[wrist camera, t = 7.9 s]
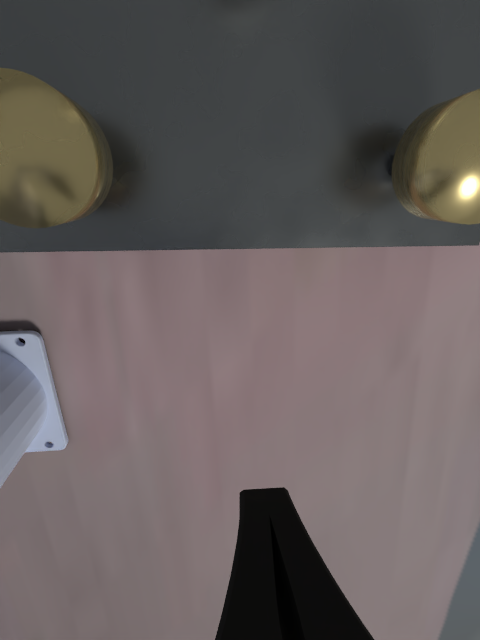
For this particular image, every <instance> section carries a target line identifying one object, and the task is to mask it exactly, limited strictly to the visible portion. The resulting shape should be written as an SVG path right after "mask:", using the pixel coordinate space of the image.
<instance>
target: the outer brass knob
mask: <svg viewBox="0 0 480 640" xmlns="http://www.w3.org/2000/svg"><path fill="white" fill-rule="evenodd" d="M391 175H392V183H393V188H394V192H395V194H396V196H397V199H398V200H399V202H400V203H401V205H402V206H403V207H404V208H405V209H406V210H407V211H408V212H410V213H411V214H413V215H415V216H418V217H420V218H425V219H431V220H438V221H445V222H451V223H458V224H468V225H470V224H479V223H480V89H477V90H475V91H472V92H469V93H466V94H463V95H461V96H458V97H455V98H452V99H449V100H447V101H444V102H441V103H438V104H436V105H434V106H432V107H430V108H428V109H427V110H425V111H424V112H422V113H421V114H420V115H419V116H418V117H417V118H416V119H415V120H414V121H413V122H412V123H411V124H410V125H409V127H408V128H407V129H406V131H405V132H404V134H403V136H402V137H401V139H400V141H399V143H398V146H397V148H396V151H395V154H394V158H393V162H392V166H391Z"/></svg>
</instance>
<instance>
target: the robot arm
mask: <svg viewBox="0 0 480 640" xmlns="http://www.w3.org/2000/svg"><path fill="white" fill-rule="evenodd" d="M19 338H22V339H24V340H25V343H22V342H20V340H19ZM48 441H49V442H52V443H53V444H52V443H49V442H48ZM67 443H68V437H67V433H66V429H65V425H64V421H63V417H62V413H61V409H60V405H59V401H58V397H57V393H56V389H55V385H54V381H53V377H52V373H51V369H50V365H49V361H48V357H47V353H46V349H45V345H44V341H43V338H42V336H41V335H40V334H39V333H38V332H36V331H2V332H0V488H1V486H2V485H3V483H4V482H5V480H6V479H7V477H8V476H9V474H10V473H11V472H12V470H13V469H14V467H15V466H16V464H17V463H18V461H19V460H20V458H21V457H22V456H23V454H24V453H25V452H37V451H52V450H62V449H64V448H65V447H66V445H67ZM215 640H374V639H373V637H372V636H371V634H370V633H369V632H368V630H367V629H366V627H365V626H364V624H363V623H362V621H361V620H360V618H359V617H358V615H357V614H356V612H355V611H354V609H353V608H352V606H351V605H350V603H349V602H348V600H347V599H346V597H345V595H344V594H343V592H342V591H341V589H340V588H339V586H338V585H337V583H336V581H335V580H334V578H333V576H332V575H331V573H330V571H329V570H328V568H327V566H326V565H325V563H324V561H323V559H322V558H321V556H320V554H319V552H318V551H317V549H316V547H315V546H314V544H313V542H312V540H311V538H310V536H309V535H308V533H307V531H306V529H305V527H304V525H303V523H302V521H301V519H300V517H299V515H298V513H297V511H296V509H295V507H294V504H293V502H292V500H291V498H290V495H289V493H288V490H287V489H285V488H267V489H250V490H243V491H242V492H240V520H239V529H238V537H237V544H236V549H235V555H234V561H233V566H232V572H231V577H230V581H229V585H228V590H227V594H226V598H225V603H224V607H223V611H222V615H221V619H220V623H219V627H218V631H217V635H216V638H215Z"/></svg>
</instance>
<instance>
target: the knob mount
mask: <svg viewBox="0 0 480 640" xmlns="http://www.w3.org/2000/svg"><path fill="white" fill-rule="evenodd" d="M0 68H8V69H14V70H18V71H22V72H25V73H27V74H30V75H32V76H34V77H36V78H38V79H40V80H42V81H44V82H45V83H47V84H48V85H50V86H52V87H53V88H55V89H56V90H58V91H59V92H61V93H63V94H64V95H66V96H67V97H69V98H70V99H72V100H73V101H75V102H76V103H78V104H79V105H81V106H82V107H83V108H84V109H85V110H86V111H87V112H88V113H89V114H90V115H91V116H92V117H93V118H94V119H95V121H96V122H97V123H98V125H99V126H100V128H101V129H102V131H103V133H104V135H105V137H106V139H107V141H108V144H109V147H110V150H111V154H112V159H113V179H112V184H111V187H110V190H109V193H108V195H107V197H106V199H105V200H104V202H103V203H102V204H101V205H100V207H99V208H98V209H97V210H95V211H94V212H93V213H91V214H90V215H88V216H86V217H84V218H81V219H79V220H75V221H71V222H67V223H63V224H59V225H56V226H51V227H47V228H26V227H20V226H16V225H13V224H9V223H7V222H5V221H2V220H0V252H55V251H123V250H191V249H259V248H327V247H395V246H463V245H479V242H480V223H479V224H470V225H468V224H458V223H451V222H445V221H438V220H431V219H425V218H420V217H418V216H415V215H413V214H411V213H410V212H408V211H407V210H406V209H405V208H404V207H403V206H402V205H401V203H400V202H399V200H398V199H397V196H396V194H395V192H394V188H393V183H392V175H391V166H392V162H393V158H394V154H395V151H396V148H397V146H398V143H399V141H400V139H401V137H402V136H403V134H404V132H405V131H406V129H407V128H408V127H409V125H410V124H411V123H412V122H413V121H414V120H415V119H416V118H417V117H418V116H419V115H420V114H421V113H422V112H424V111H425V110H427V109H428V108H430V107H432V106H434V105H436V104H438V103H441V102H444V101H447V100H449V99H452V98H455V97H458V96H461V95H463V94H466V93H469V92H472V91H475V90H477V89H480V0H0Z"/></svg>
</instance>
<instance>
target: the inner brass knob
mask: <svg viewBox="0 0 480 640" xmlns="http://www.w3.org/2000/svg"><path fill="white" fill-rule="evenodd" d="M112 179H113V159H112V154H111V150H110V147H109V144H108V141H107V139H106V137H105V135H104V133H103V131H102V129H101V128H100V126H99V125H98V123H97V122H96V121H95V119H94V118H93V117H92V116H91V115H90V114H89V113H88V112H87V111H86V110H85V109H84V108H83V107H82V106H81V105H79V104H78V103H76V102H75V101H73V100H72V99H70V98H69V97H67V96H66V95H64V94H63V93H61V92H59V91H58V90H56V89H55V88H53V87H52V86H50V85H48V84H47V83H45V82H44V81H42V80H40V79H38V78H36V77H34V76H32V75H30V74H27V73H25V72H22V71H18V70H14V69H8V68H0V220H2V221H5V222H7V223H9V224H13V225H16V226H20V227H26V228H47V227H51V226H56V225H59V224H63V223H67V222H71V221H75V220H79V219H81V218H84V217H86V216H88V215H90V214H91V213H93V212H94V211H95V210H97V209H98V208H99V207H100V205H101V204H102V203H103V202H104V200H105V199H106V197H107V195H108V193H109V190H110V187H111V184H112Z"/></svg>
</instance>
